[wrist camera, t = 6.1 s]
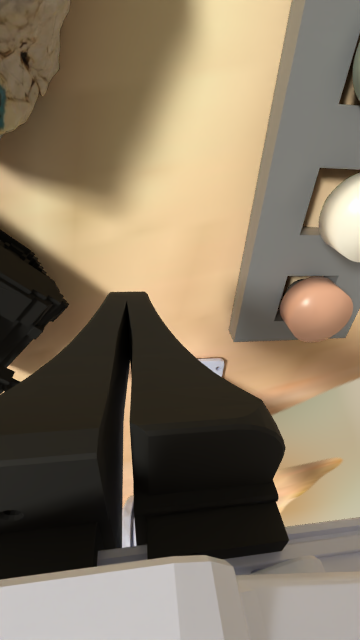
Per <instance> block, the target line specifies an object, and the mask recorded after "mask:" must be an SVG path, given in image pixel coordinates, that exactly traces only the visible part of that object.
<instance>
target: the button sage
mask: <svg viewBox="0 0 360 640" xmlns="http://www.w3.org/2000/svg"><path fill="white" fill-rule="evenodd" d="M353 86H354V90H355V93H356V96H357V98H358V100H359V101H360V42H359V45H358V48H357V51H356V54H355V58H354V64H353Z"/></svg>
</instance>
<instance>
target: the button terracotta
mask: <svg viewBox="0 0 360 640" xmlns="http://www.w3.org/2000/svg"><path fill="white" fill-rule="evenodd" d="M352 312H353V303H352V300H351V298H350V297H349V296H348V295H347V294H346V293H345V292H344V291H343V290H341V289H340V288H339V287H338V286H337V285H336V284H335V283H334V282H332V281H331V280H330V279H328V278H325V277H310V278H307V279H301V280H297V281H295V282H293V283H292V284H291V285H290V286H289V287H288V288H287V290H286V292H285V295H284V297H283V299H282V301H281V304H280V315H281V317H282V319H283V320H284V322H285V323H286V325H287V326H288V327H289V329H290V330H291V332H292V333H293V335H294V336H295V337H296V338H297V339H299V340H301V341H304V342H318V341H322V340H325V339H328V338H330V337H332V336H333V335H335V334H336V333H338V332H339V331H340V330H341V329H342V328H343V327H344V326H345V325H346V324H347V322H348V321H349V319H350V318H351V315H352Z"/></svg>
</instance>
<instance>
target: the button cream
mask: <svg viewBox="0 0 360 640" xmlns="http://www.w3.org/2000/svg"><path fill="white" fill-rule="evenodd" d="M319 231H320V235H321V237H322V239H323V240H324V242H326V243H327V244H328V245H329V246H331V247H332V248H333V249H335V250H336V251H337V252H339V253H340V254H342V255H343V256H344V257H346V258H347V259H349V260H351V261H354V262H360V173H357V174H355V175H353V176H351V177H349V178H347V179H346V180H345V181H343V182H342V183H341V184H339V185H338V186H337V187H336V188H335V189H334V190H333V191H332V193H331V194H330V195H329V196H328V197H327V199H326V201H325V203H324V205H323V208H322V210H321V213H320V217H319Z"/></svg>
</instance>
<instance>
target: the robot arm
mask: <svg viewBox="0 0 360 640" xmlns="http://www.w3.org/2000/svg"><path fill="white" fill-rule="evenodd" d="M130 363H131V372H132V386H131V407H130V435H131V450H132V465H133V480H134V495H132V496H130V497H128V499H127V501H126V503H125V505H124V507H123V508H122V484H123V420H124V408H125V399H126V391H127V382H128V373H129V365H130ZM217 367H218V368H217ZM223 369H224V360H223V359H221V358H211V359H197V358H195V357H194V356H193V355H192V354H191V353H190V352H189V351H188V350H187V349H186V348H185V347H184V346H183V345H182V344H181V343H180V342H179V341H178V340H177V339H176V338H175V336H174V335H173V334H172V333H171V332H170V330H169V329H168V328H167V326H166V325H165V324H164V322H163V321H162V319H161V318H160V317H159V315H158V314H157V312H156V310H155V309H154V307H153V305H152V303H151V301H150V299H149V297H148V294H147V293H146V292H110V293H109V294H108V295H107V297H106V299H105V300H104V302H103V303H102V305H101V306H100V308H99V309H98V311H97V312H96V313H95V315H94V316H93V317H92V319H91V320H90V321H89V323H88V324H87V325H86V326H85V327H84V328H83V329H82V331H81V332H80V333H79V334H78V335H77V336H76V337H75V338H74V339H73V340H72V342H71V343H70V344H69V345H67V346H66V347H65V348H64V349H63V350H62V351H61V352H60V353H59V354H58V355H57V356H55V357H54V358H53V359H52V360H51V361H49V362H48V363H47V364H45V365H44V366H43V367H41V368H40V369H39V370H37V371H36V372H35V373H33V374H32V375H31V376H29V377H28V378H26V379H25V380H23V381H22V382H20V383H19V384H17V385H15V386H14V387H12V388H11V389H9V390H7V391H6V392H4V393H2V394H1V395H0V640H360V517H359V518H352V519H343V520H335V521H327V522H319V523H312V524H305V525H296V526H288V527H284V524H283V521H282V518H281V515H280V513H279V510H278V507H277V504H276V501H278V493H277V490H276V487H275V485H274V482H273V478H274V475H275V473H276V471H277V469H278V467H279V464H280V463H281V461H282V458H283V456H284V452H285V445H284V440H283V438H282V436H281V434H280V431H279V429H278V427H277V425H276V423H275V421H274V420H273V418H272V416H271V414H270V413H269V411H268V409H267V408H266V406H265V405H264V403H263V401H262V400H261V399H259V398H257V397H255V396H253V395H251V394H250V393H248V392H246V391H244V390H242V389H240V388H239V387H237V386H235V385H233V384H231V383H230V382H228V381H227V380H225V379H224V378H222V374H223Z"/></svg>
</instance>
